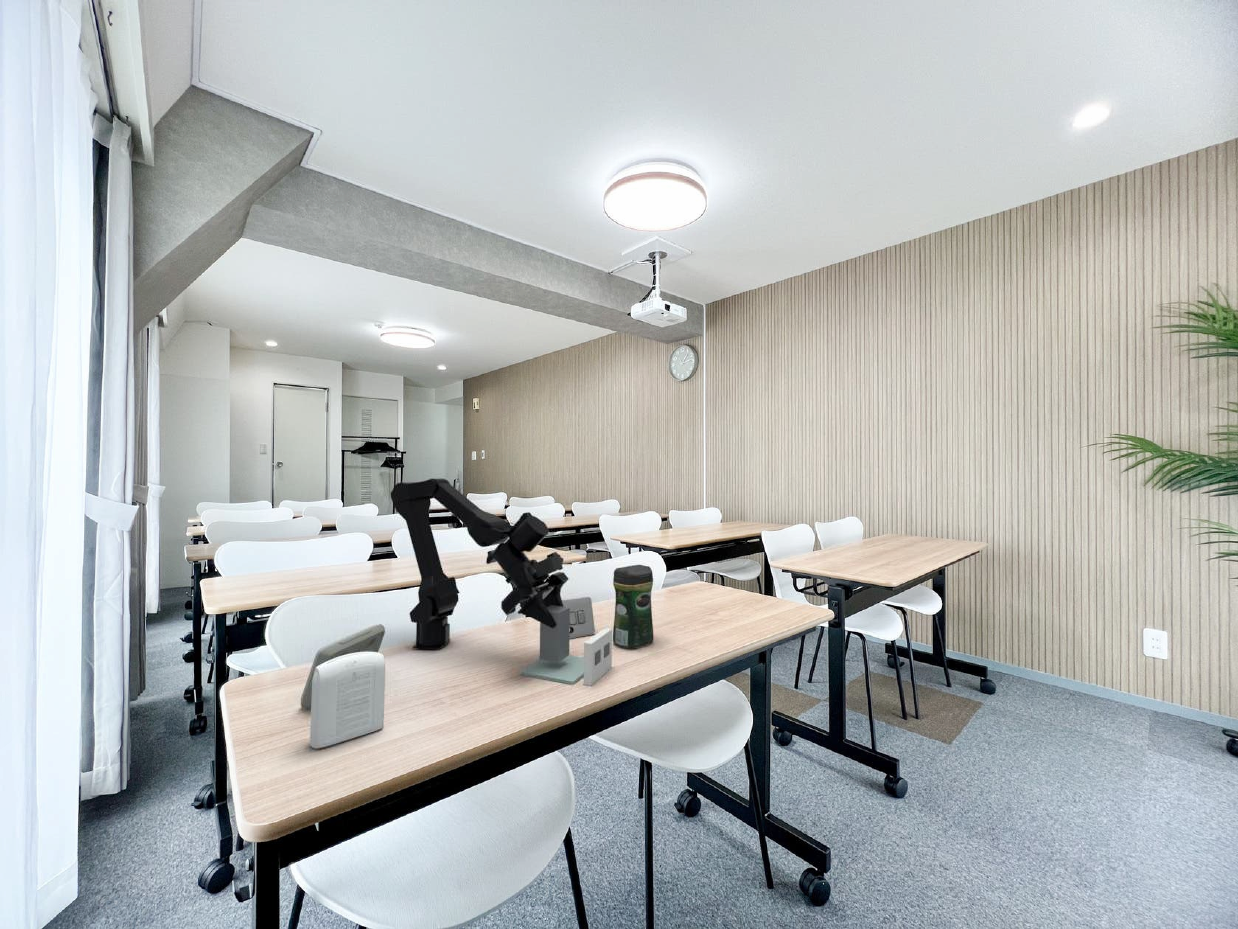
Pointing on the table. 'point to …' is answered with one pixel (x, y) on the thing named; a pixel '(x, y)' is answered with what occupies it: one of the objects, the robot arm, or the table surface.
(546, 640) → the block
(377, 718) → the photo printer
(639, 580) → the coffee jar
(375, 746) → the table surface
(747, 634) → the table surface
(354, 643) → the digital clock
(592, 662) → the outlet plate
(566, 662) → the mat
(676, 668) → the table surface
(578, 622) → the electrical switch
